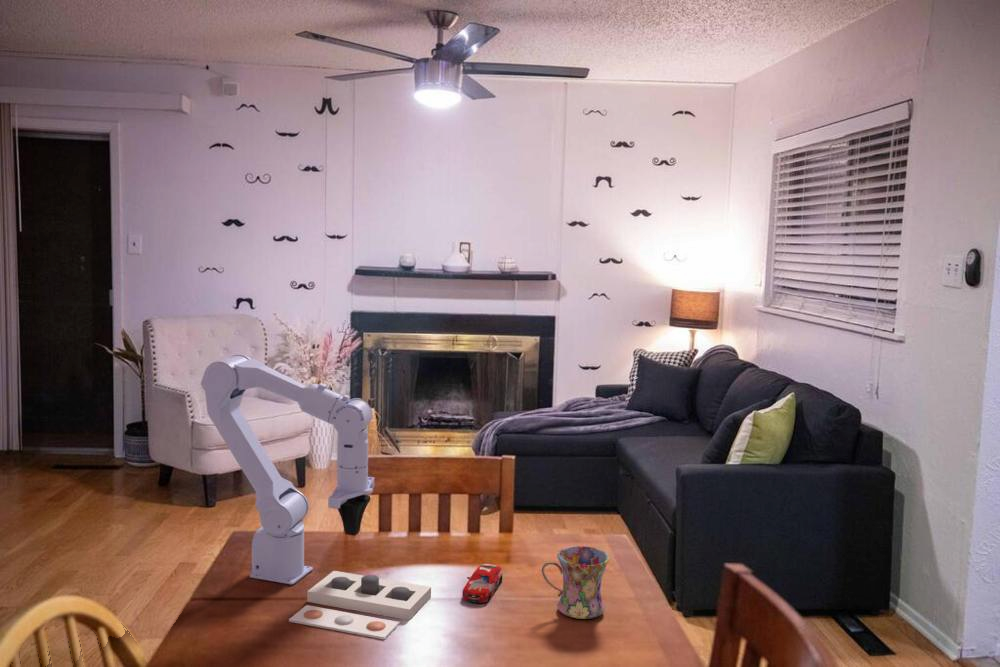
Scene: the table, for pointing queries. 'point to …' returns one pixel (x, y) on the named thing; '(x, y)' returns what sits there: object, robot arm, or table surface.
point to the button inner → (340, 583)
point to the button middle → (370, 584)
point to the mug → (580, 581)
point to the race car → (483, 583)
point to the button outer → (400, 593)
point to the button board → (369, 596)
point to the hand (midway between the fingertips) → (351, 533)
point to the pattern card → (345, 622)
